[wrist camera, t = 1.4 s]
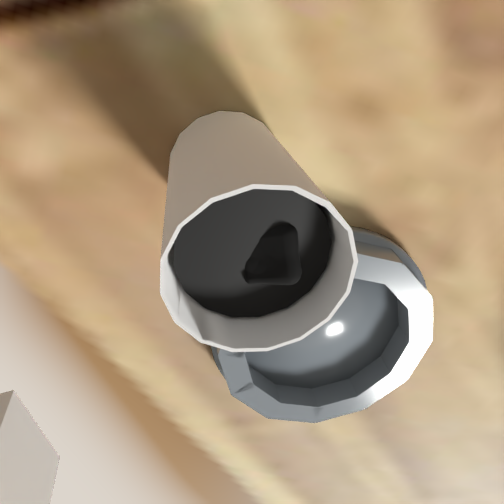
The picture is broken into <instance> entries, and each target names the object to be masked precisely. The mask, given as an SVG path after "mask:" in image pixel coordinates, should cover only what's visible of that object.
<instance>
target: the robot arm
mask: <svg viewBox="0 0 504 504" xmlns="http://www.w3.org/2000/svg"><path fill="white" fill-rule="evenodd" d="M59 459H60V456H59V455H58V454H57V452H56V451H55V449H54V448H53V446H52V445H51V444H50V442H49V440H48V439H47V438H46V436H45V435H44V433H43V432H42V430H41V429H40V427H39V426H38V425H37V423H36V422H35V420H34V419H33V417H32V416H31V414H30V413H29V411H28V410H27V409H26V407H25V406H24V404H23V403H22V401H21V400H20V399H19V397H18V396H17V394H16V393H15V391H14V390H12V391H9V392H5V393H1V394H0V504H50V501H51V496H52V491H53V487H54V482H55V477H56V473H57V468H58V463H59Z"/></svg>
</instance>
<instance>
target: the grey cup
mask: <svg viewBox="0 0 504 504" xmlns="http://www.w3.org/2000/svg"><path fill="white" fill-rule="evenodd" d="M357 264H358V257H357V252H356V247H355V242H354V236H353V231H352V229H351V227H350V226H349V225H348V224H347V222H346V221H345V220H344V219H343V217H342V216H341V215H340V214H339V212H338V211H337V210H336V209H335V207H334V206H333V205H332V204H331V202H330V201H329V200H328V199H327V198H326V196H325V195H324V194H323V193H322V192H321V191H320V189H319V188H318V187H317V186H316V185H315V184H314V182H313V181H312V180H311V179H310V178H309V176H308V175H307V174H306V173H305V172H304V171H303V169H302V168H301V167H300V166H299V165H298V164H297V162H296V161H295V160H294V159H293V158H292V156H291V155H290V154H289V153H288V152H287V151H286V149H285V148H284V147H283V146H282V145H281V144H280V142H279V141H278V140H277V139H276V138H275V136H274V135H273V134H272V133H271V132H270V131H269V129H268V128H267V127H266V126H265V125H264V123H263V122H261V121H259V120H257V119H255V118H253V117H251V116H249V115H247V114H245V113H243V112H231V111H217V112H214V113H211V114H208V115H205V116H202V117H200V118H197V119H196V120H195V121H194V122H192V123H191V124H190V125H189V126H188V127H187V128H186V129H185V130H183V131H182V132H181V133H180V134H179V136H178V138H177V141H176V143H175V145H174V147H173V149H172V151H171V153H170V163H169V173H168V184H167V195H166V206H165V217H164V227H163V238H162V249H161V262H160V295H161V297H162V298H163V300H164V302H165V304H166V306H167V308H168V310H169V312H170V314H171V316H172V318H173V320H174V322H175V323H176V324H177V325H178V326H180V327H181V328H182V329H184V330H185V331H186V332H187V333H189V334H190V335H191V336H193V337H194V338H195V339H196V340H198V341H199V342H200V343H204V344H207V345H210V346H214V347H217V348H220V349H224V350H227V351H230V352H257V351H270V350H273V349H276V348H279V347H282V346H285V345H288V344H291V343H294V342H297V341H300V340H302V339H304V338H305V337H306V336H308V335H309V334H311V333H312V332H314V331H315V330H316V329H318V328H319V327H321V326H322V325H323V324H325V323H326V322H328V321H329V320H330V319H331V318H332V317H333V315H334V314H335V312H336V311H337V310H338V308H339V307H340V306H341V304H342V303H343V302H344V300H345V299H346V298H347V296H348V295H349V293H350V291H351V287H352V283H353V280H354V276H355V272H356V268H357Z"/></svg>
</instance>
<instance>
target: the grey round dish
mask: <svg viewBox="0 0 504 504" xmlns="http://www.w3.org/2000/svg"><path fill="white" fill-rule="evenodd" d="M350 227H351V226H350ZM351 229H352V231H353V236H354V242H355V247H356V252H357V257H358V264H357V268H356V272H355V276H354V280H353V283H352V287H351V291H350V293H349V295H348V296H347V298H346V299H345V300H344V302H343V303H342V304H341V306H340V307H339V308H338V310H337V311H336V312H335V314H334V315H333V317H332V318H331V319H330V320H329V321H328V322H326V323H325V324H323V325H322V326H321V327H319V328H318V329H316V330H315V331H314V332H312V333H311V334H309V335H308V336H306V337H305V338H304V339H302V340H300V341H297V342H294V343H291V344H288V345H285V346H282V347H279V348H276V349H273V350H270V351H257V352H230V351H227V350H224V349H220V348H217V347H214V346H211V349H212V353H213V357H214V360H215V362H216V365H217V367H218V369H219V370H220V372H221V373H222V375H223V376H224V378H225V379H226V381H227V384H228V387H229V390H230V393H231V395H232V396H233V397H235V398H237V399H238V400H240V401H241V402H243V403H244V404H246V405H247V406H249V407H250V408H252V409H253V410H255V411H256V412H258V413H260V414H261V415H263V416H264V417H266V418H268V419H278V420H288V421H299V422H309V423H315V422H316V423H317V422H321V421H325V420H328V419H332V418H335V417H339V416H343V415H346V414H350V413H354V412H357V411H361V410H364V409H366V408H368V407H369V406H371V405H372V404H373V403H375V402H376V401H378V400H379V399H381V398H382V397H384V396H385V395H387V394H388V393H389V392H391V391H392V390H394V389H395V388H397V387H398V386H400V385H401V384H402V383H404V382H405V381H406V380H408V378H409V376H410V375H411V373H412V372H413V370H414V369H415V367H416V366H417V364H418V362H419V361H420V359H421V358H422V356H423V355H424V353H425V352H426V350H427V348H428V347H429V345H430V344H431V342H432V340H433V298H432V296H431V295H430V293H429V292H428V291H427V288H426V284H425V280H424V278H423V276H422V274H421V272H420V270H419V268H418V267H417V265H416V264H415V263H414V261H413V260H412V259H411V258H410V256H409V255H408V254H407V253H406V252H405V251H404V250H403V249H402V248H401V247H400V246H399V245H397V244H396V243H394V242H393V241H392V240H390V239H389V238H387V237H385V236H383V235H381V234H378V233H376V232H373V231H370V230H366V229H363V228H357V227H351Z"/></svg>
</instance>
